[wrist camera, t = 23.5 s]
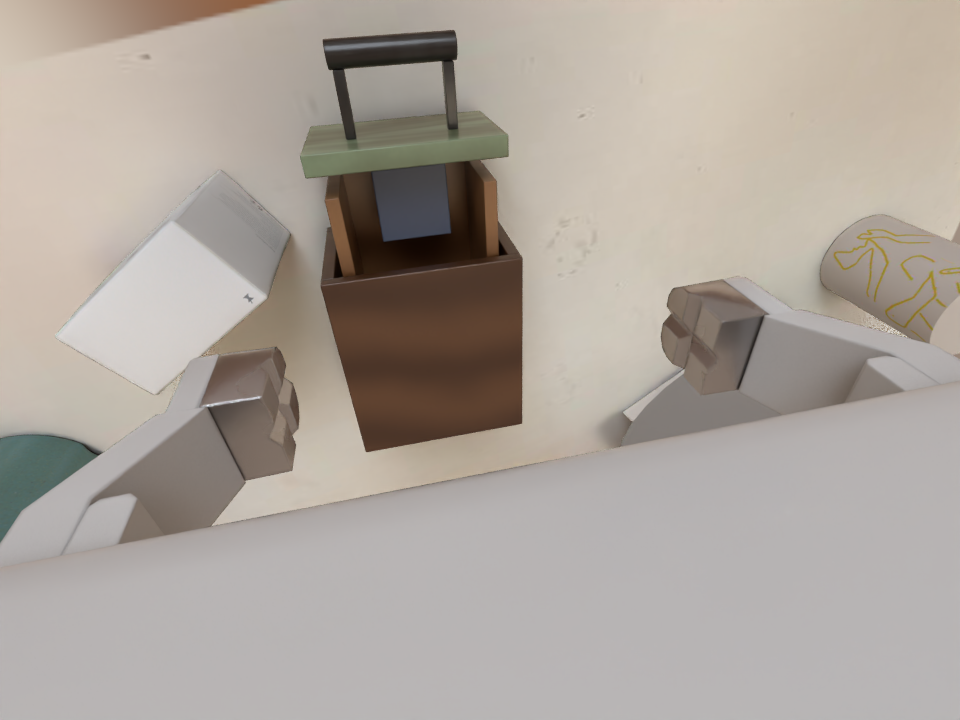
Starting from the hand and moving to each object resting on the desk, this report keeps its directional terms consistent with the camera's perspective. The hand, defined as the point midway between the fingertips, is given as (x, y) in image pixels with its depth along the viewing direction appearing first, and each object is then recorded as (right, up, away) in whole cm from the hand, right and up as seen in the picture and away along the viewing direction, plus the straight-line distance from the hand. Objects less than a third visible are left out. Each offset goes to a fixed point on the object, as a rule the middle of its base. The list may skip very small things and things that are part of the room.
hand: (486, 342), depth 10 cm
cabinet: (-5, +5, +32) cm, 33 cm away
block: (-5, +12, +24) cm, 27 cm away
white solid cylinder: (+38, +10, +39) cm, 55 cm away
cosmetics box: (-20, +8, +26) cm, 34 cm away
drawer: (-5, +12, +25) cm, 29 cm away
